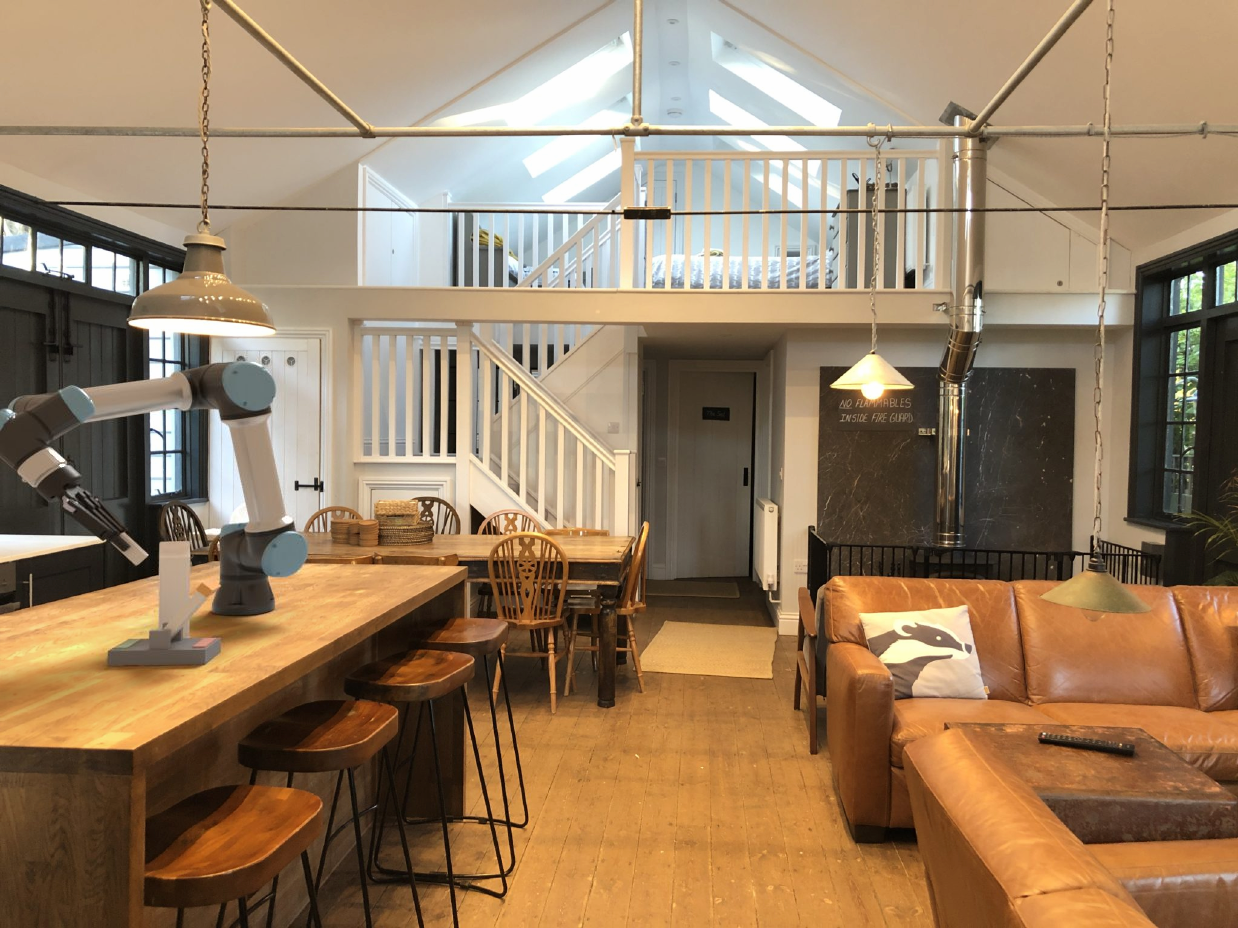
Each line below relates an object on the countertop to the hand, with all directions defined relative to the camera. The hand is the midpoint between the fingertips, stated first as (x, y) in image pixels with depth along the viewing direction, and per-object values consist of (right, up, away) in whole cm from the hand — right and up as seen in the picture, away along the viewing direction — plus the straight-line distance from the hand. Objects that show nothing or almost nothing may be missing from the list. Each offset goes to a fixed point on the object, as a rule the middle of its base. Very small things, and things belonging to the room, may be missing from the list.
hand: (142, 560), depth 169 cm
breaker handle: (+3, -16, +1) cm, 17 cm away
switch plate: (+4, -20, +1) cm, 21 cm away
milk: (-3, -20, +17) cm, 26 cm away
